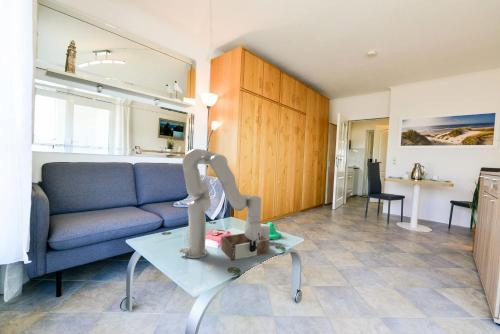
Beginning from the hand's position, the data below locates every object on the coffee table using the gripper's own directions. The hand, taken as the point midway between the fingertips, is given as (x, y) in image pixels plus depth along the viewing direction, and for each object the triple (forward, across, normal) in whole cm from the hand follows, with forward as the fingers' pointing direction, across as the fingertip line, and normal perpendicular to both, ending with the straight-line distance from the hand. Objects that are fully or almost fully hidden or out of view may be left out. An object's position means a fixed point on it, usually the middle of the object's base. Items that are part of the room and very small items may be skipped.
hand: (252, 251), depth 121 cm
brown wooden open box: (+4, -10, +2) cm, 12 cm away
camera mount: (+5, -21, +31) cm, 38 cm away
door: (+4, -3, -2) cm, 5 cm away
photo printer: (+5, -17, +19) cm, 26 cm away
